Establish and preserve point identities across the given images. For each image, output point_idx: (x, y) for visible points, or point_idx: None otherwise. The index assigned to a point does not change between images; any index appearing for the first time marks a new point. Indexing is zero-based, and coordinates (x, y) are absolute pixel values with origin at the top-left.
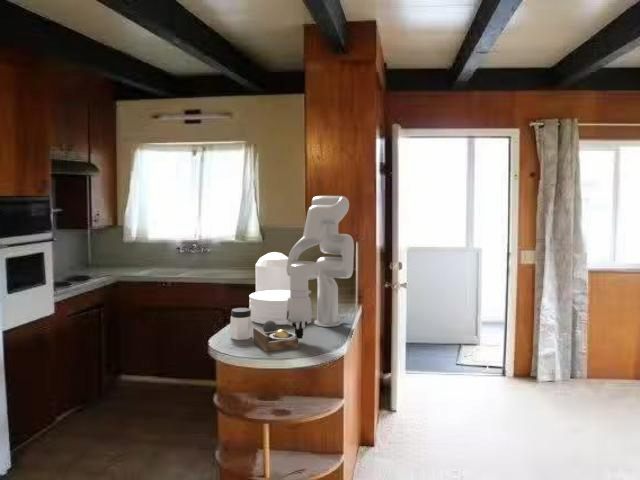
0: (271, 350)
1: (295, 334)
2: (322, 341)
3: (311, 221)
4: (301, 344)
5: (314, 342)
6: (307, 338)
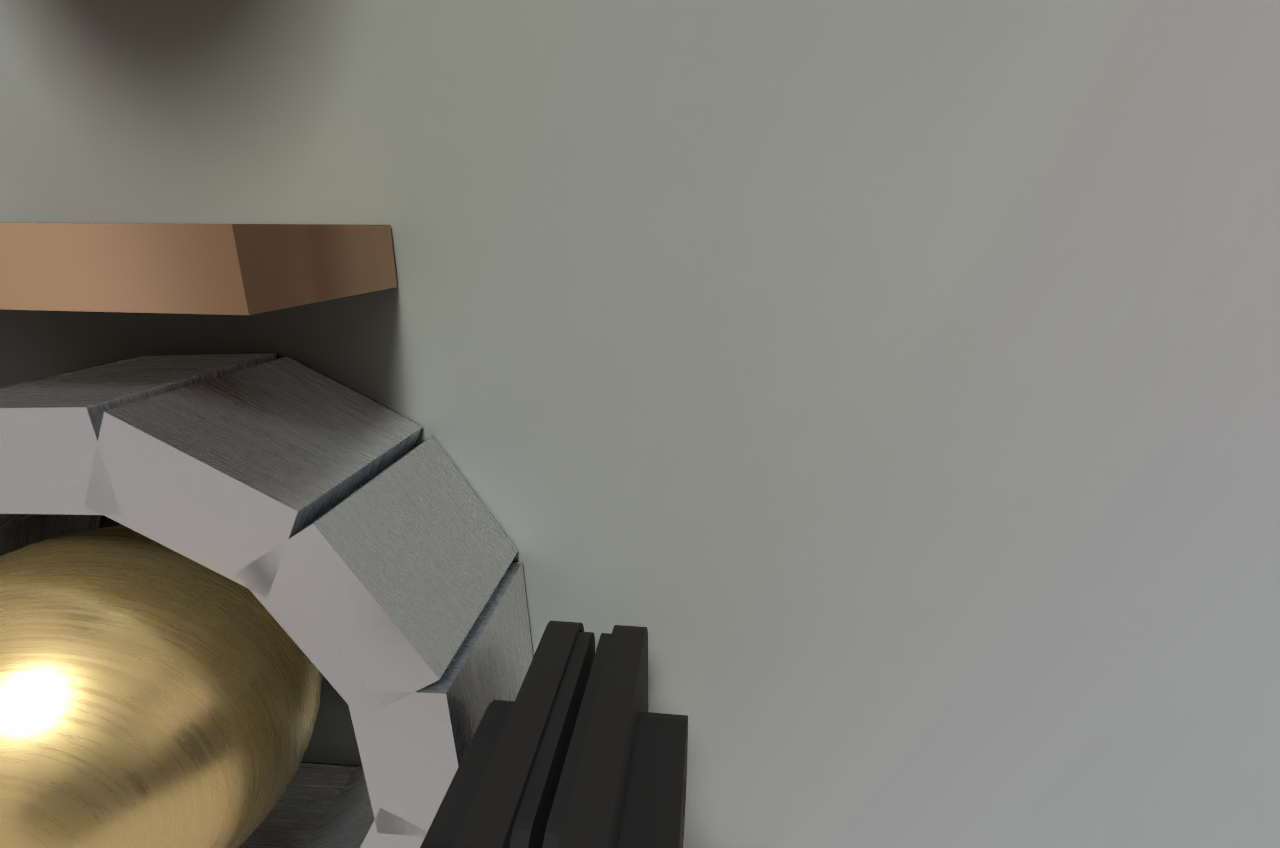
0: None
1: None
2: (1072, 815)
3: None
4: None
5: (880, 794)
6: (931, 483)
